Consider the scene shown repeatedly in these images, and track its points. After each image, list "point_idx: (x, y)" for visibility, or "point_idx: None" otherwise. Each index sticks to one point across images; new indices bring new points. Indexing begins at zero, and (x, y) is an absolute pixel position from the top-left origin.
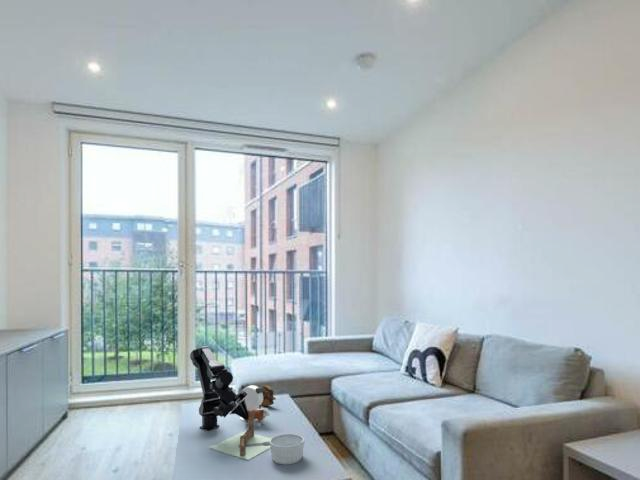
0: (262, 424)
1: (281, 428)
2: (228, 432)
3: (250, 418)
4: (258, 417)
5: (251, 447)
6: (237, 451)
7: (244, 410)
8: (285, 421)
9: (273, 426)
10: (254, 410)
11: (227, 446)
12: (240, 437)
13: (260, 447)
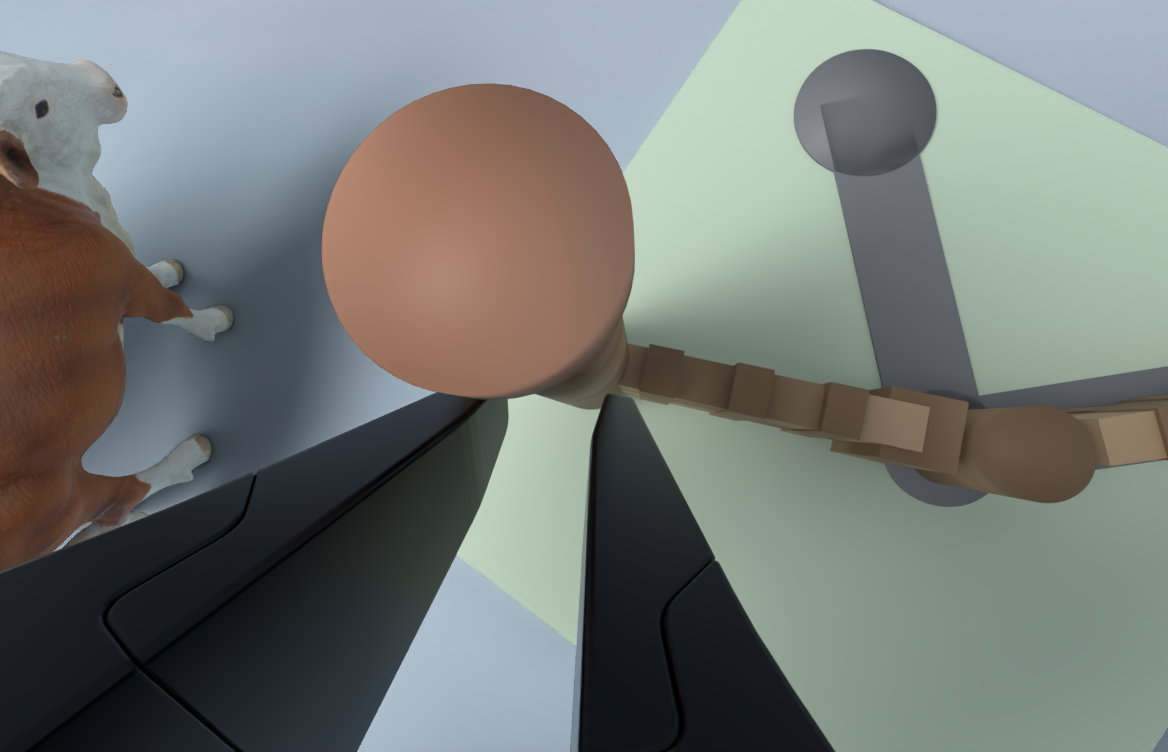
0: (176, 280)
1: (331, 24)
2: (390, 735)
3: (621, 324)
4: (117, 294)
5: (996, 310)
6: (1153, 494)
7: (616, 556)
8: (111, 10)
9: (252, 132)
10: (513, 104)
11: (958, 679)
12: (1081, 490)
13: (994, 185)
